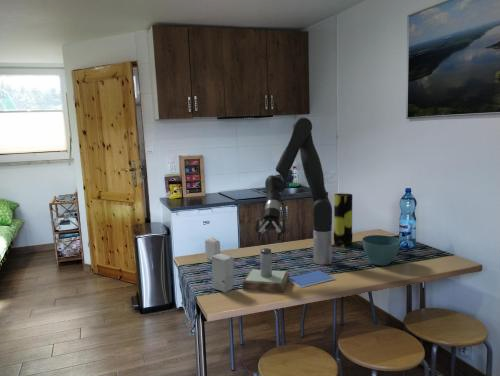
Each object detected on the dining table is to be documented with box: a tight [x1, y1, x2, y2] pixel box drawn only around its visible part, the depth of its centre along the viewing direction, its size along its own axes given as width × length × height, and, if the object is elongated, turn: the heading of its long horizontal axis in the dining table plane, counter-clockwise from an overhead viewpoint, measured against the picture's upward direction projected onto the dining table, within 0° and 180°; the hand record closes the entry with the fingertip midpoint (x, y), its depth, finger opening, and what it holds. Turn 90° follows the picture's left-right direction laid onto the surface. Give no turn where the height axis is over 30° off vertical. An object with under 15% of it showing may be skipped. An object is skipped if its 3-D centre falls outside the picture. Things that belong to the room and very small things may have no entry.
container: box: [333, 192, 353, 248], centre depth 239 cm, size 11×11×30 cm
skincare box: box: [211, 253, 234, 293], centre depth 180 cm, size 8×6×15 cm
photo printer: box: [204, 236, 221, 262], centre depth 220 cm, size 10×4×12 cm, turn 39°
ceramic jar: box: [259, 247, 273, 278], centre depth 183 cm, size 5×5×12 cm
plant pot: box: [361, 234, 401, 266], centre depth 207 cm, size 18×18×12 cm
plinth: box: [242, 268, 290, 293], centre depth 184 cm, size 18×16×4 cm
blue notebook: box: [288, 270, 336, 289], centre depth 189 cm, size 19×13×1 cm, turn 117°
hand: (269, 240), depth 188 cm, fingers open, 8 cm apart
